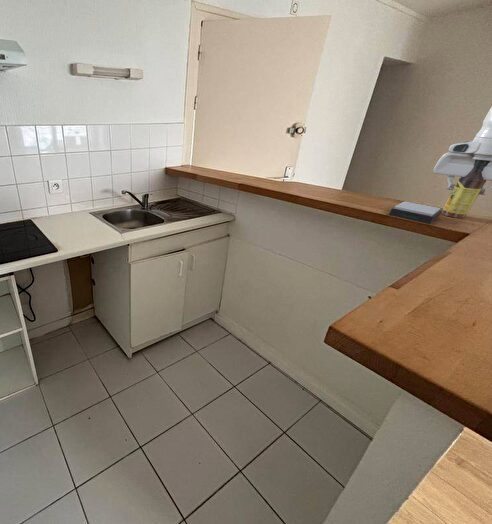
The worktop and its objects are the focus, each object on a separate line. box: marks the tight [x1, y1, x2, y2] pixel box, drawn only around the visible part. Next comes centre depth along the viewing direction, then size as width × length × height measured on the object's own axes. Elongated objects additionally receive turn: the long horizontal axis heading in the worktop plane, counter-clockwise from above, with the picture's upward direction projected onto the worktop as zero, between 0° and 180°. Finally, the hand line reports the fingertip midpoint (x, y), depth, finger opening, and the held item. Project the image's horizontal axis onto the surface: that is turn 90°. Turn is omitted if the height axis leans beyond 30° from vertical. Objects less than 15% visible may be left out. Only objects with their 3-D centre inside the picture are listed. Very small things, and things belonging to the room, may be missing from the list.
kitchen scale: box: [389, 200, 443, 225], centre depth 97 cm, size 11×11×3 cm
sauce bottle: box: [441, 159, 490, 219], centre depth 93 cm, size 6×6×20 cm
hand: (465, 192), depth 94 cm, fingers closed on sauce bottle, 6 cm apart
